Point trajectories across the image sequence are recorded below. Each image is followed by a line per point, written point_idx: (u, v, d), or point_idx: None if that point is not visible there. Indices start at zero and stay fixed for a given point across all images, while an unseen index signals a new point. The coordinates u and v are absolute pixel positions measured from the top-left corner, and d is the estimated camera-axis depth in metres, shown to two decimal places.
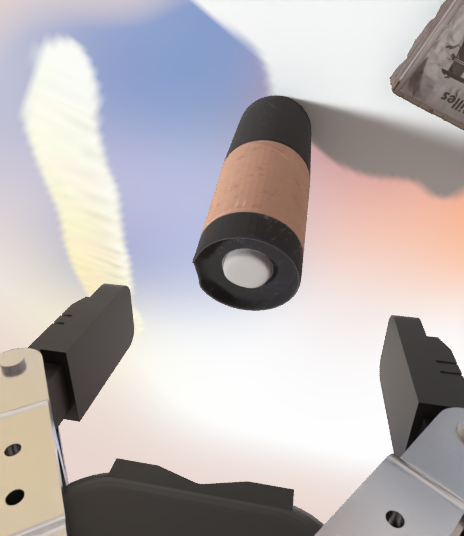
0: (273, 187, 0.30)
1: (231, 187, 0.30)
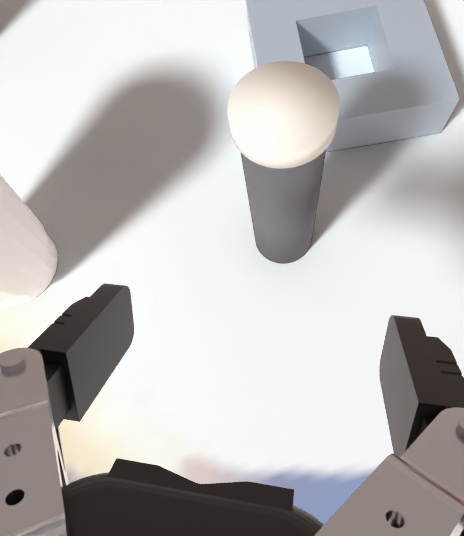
0: None
1: None
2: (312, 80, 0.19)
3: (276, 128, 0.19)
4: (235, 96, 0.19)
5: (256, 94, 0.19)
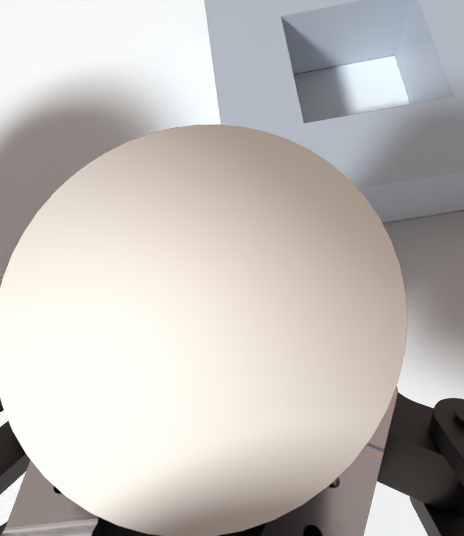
0: None
1: None
2: (299, 199, 0.05)
3: (158, 402, 0.05)
4: (31, 252, 0.06)
5: (102, 247, 0.05)
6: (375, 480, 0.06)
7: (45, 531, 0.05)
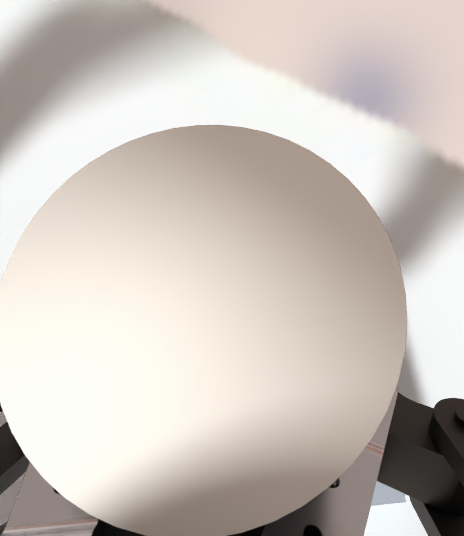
0: None
1: None
2: (299, 200, 0.05)
3: (157, 404, 0.05)
4: (30, 253, 0.06)
5: (101, 248, 0.05)
6: (375, 480, 0.06)
7: (45, 531, 0.05)
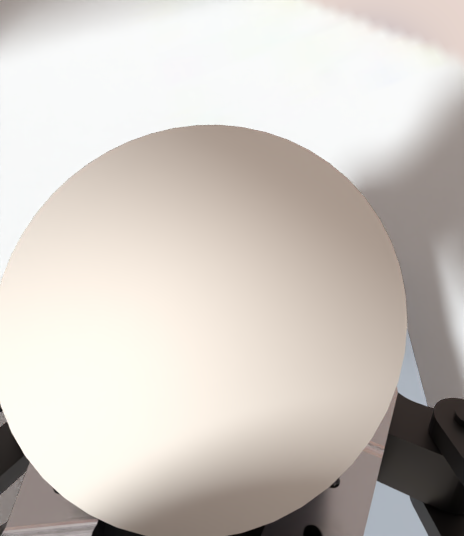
0: None
1: None
2: (299, 200, 0.05)
3: (157, 404, 0.05)
4: (30, 253, 0.06)
5: (101, 248, 0.05)
6: (375, 480, 0.06)
7: (45, 531, 0.05)
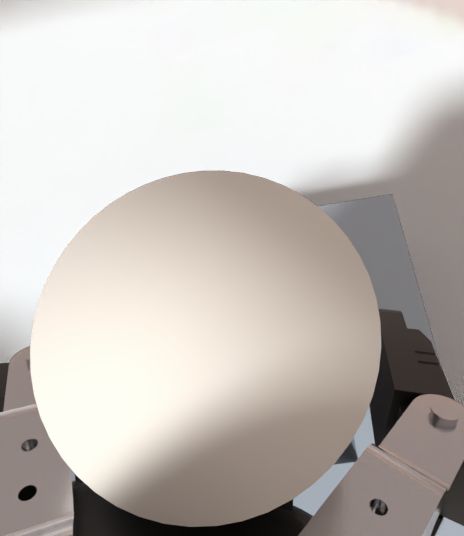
0: None
1: None
2: (291, 238, 0.06)
3: (171, 414, 0.06)
4: (61, 283, 0.06)
5: (122, 279, 0.06)
6: (428, 518, 0.06)
7: None
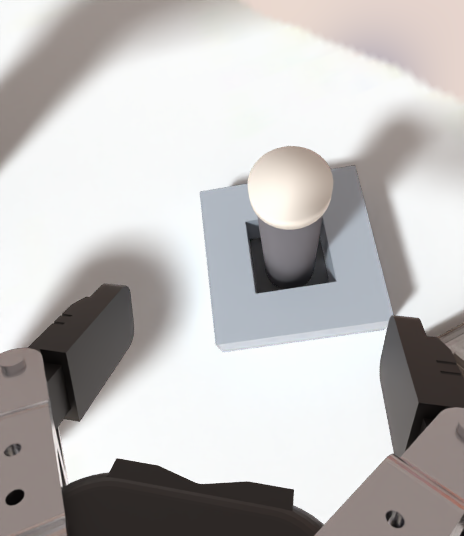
0: None
1: None
2: (312, 162, 0.25)
3: (285, 201, 0.24)
4: (253, 174, 0.25)
5: (269, 173, 0.25)
6: (447, 535, 0.06)
7: None
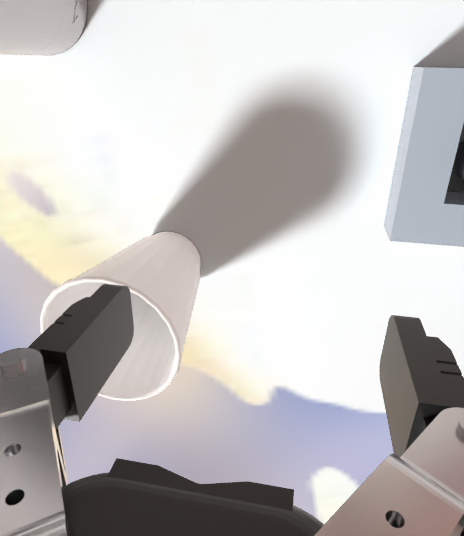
0: None
1: None
2: None
3: None
4: None
5: None
6: (447, 535, 0.06)
7: None
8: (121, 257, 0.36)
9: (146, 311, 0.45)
